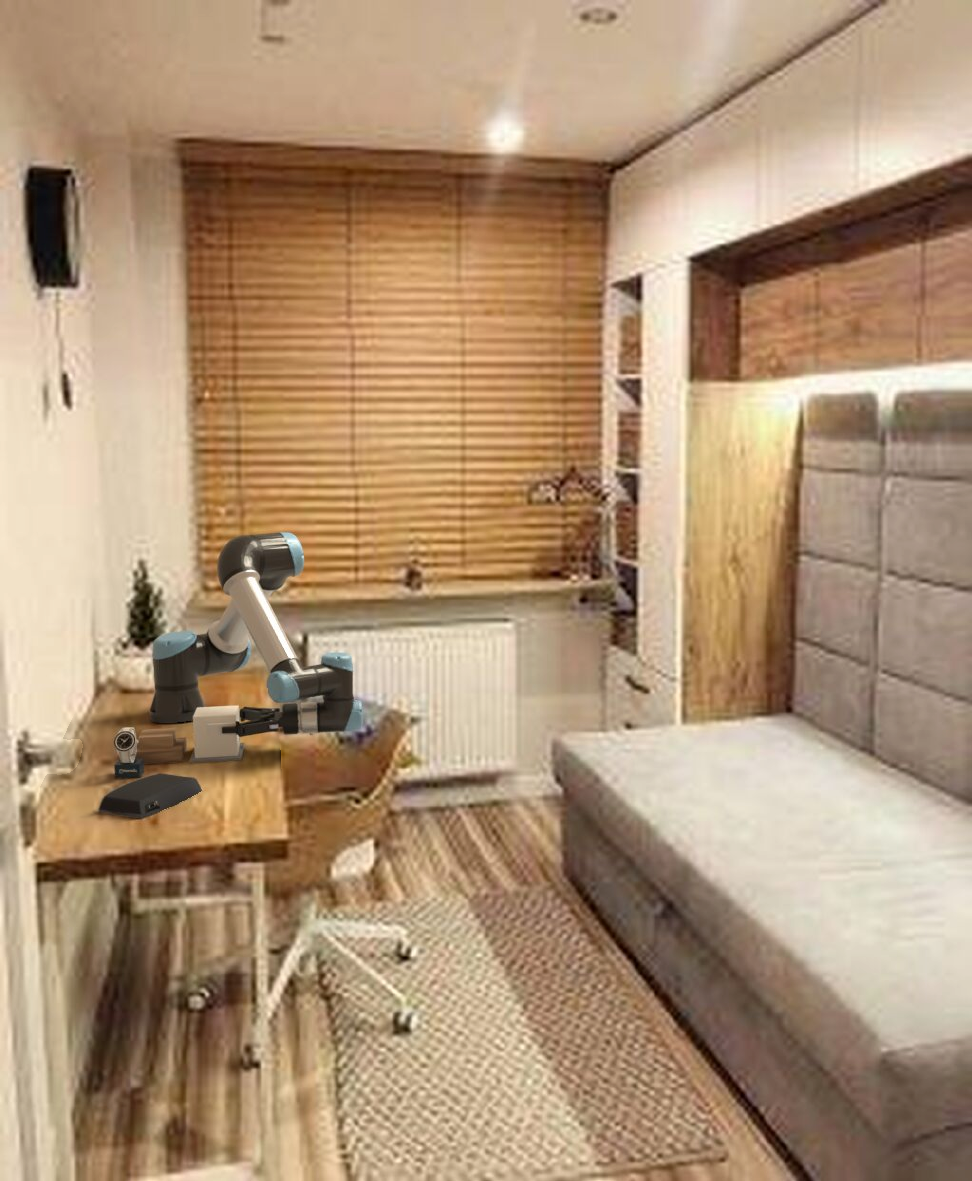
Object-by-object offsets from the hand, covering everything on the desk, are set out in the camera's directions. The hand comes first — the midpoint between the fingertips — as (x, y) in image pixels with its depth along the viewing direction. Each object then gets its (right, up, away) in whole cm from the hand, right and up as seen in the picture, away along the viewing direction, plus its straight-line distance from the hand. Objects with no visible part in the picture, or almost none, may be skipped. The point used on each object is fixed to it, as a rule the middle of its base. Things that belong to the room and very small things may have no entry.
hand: (210, 722), depth 271 cm
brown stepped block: (-12, -8, -1) cm, 15 cm away
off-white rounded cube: (+2, -7, +1) cm, 7 cm away
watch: (-15, -10, -15) cm, 24 cm away
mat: (+1, -8, +1) cm, 8 cm away
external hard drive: (-4, -13, -34) cm, 37 cm away
